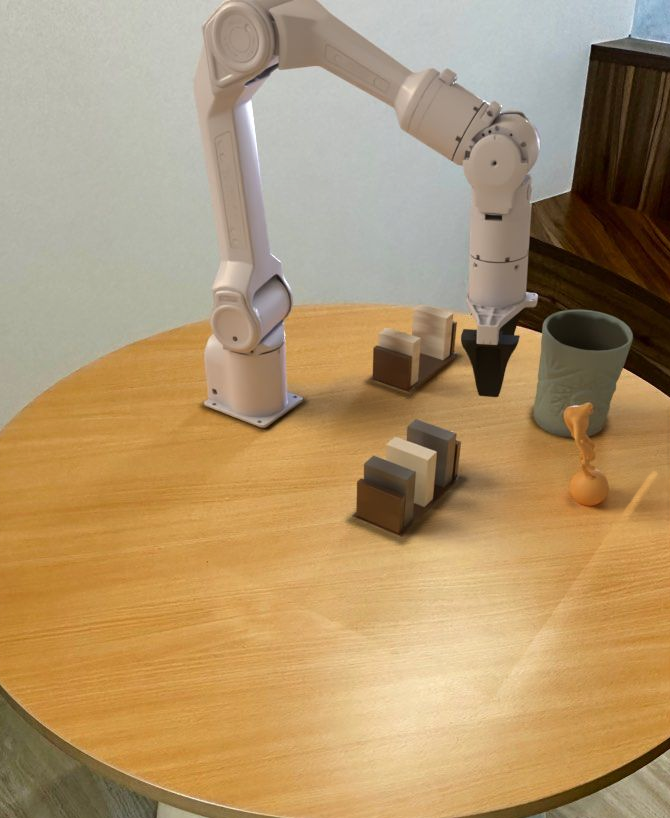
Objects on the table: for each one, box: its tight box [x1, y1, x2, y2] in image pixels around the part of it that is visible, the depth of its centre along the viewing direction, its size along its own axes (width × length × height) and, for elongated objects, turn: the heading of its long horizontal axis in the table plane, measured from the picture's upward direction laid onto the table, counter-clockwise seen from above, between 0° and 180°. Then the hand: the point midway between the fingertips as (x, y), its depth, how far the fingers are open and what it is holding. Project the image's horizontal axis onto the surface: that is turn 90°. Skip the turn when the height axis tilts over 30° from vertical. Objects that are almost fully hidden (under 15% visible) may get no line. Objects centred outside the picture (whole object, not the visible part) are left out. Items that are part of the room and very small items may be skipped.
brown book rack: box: [351, 418, 462, 538], centre depth 92 cm, size 6×13×7 cm, turn 147°
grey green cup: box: [533, 309, 634, 439], centre depth 103 cm, size 10×10×12 cm
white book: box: [385, 436, 437, 507], centre depth 92 cm, size 5×2×6 cm, turn 57°
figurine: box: [564, 403, 610, 507], centre depth 91 cm, size 8×6×12 cm
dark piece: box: [368, 303, 458, 393], centre depth 114 cm, size 6×13×7 cm, turn 147°
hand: (493, 377), depth 95 cm, fingers open, 7 cm apart
